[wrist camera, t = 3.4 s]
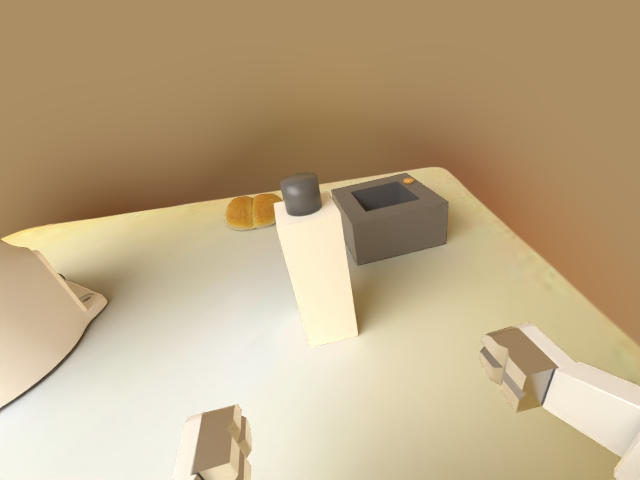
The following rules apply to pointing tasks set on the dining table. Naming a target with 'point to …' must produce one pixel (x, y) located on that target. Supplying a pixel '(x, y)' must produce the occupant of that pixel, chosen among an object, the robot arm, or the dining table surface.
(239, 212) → the bread roll
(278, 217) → the plug
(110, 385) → the dining table surface
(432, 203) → the socket block
